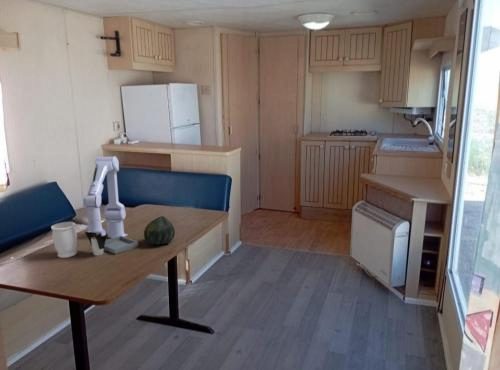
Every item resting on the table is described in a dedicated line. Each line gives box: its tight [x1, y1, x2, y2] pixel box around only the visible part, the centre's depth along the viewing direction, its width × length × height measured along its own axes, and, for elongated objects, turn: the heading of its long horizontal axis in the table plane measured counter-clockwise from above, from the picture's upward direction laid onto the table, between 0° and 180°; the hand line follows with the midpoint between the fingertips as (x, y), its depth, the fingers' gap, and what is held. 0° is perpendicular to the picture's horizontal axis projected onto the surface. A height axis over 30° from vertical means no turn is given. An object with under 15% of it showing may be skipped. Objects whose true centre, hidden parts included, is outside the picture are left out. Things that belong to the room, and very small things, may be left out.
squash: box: [143, 216, 176, 246], centre depth 202 cm, size 14×15×15 cm
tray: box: [104, 236, 139, 255], centre depth 199 cm, size 15×13×2 cm
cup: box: [91, 237, 105, 257], centre depth 191 cm, size 5×5×8 cm
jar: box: [50, 221, 78, 259], centre depth 190 cm, size 11×10×15 cm
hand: (97, 246), depth 191 cm, fingers open, 7 cm apart
